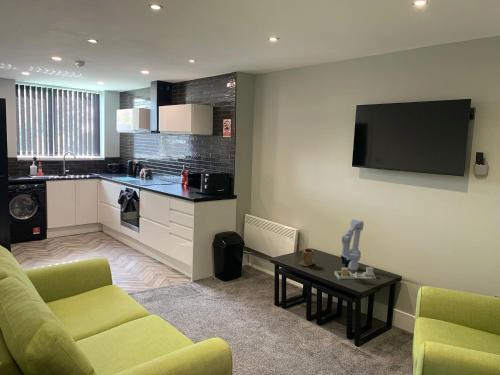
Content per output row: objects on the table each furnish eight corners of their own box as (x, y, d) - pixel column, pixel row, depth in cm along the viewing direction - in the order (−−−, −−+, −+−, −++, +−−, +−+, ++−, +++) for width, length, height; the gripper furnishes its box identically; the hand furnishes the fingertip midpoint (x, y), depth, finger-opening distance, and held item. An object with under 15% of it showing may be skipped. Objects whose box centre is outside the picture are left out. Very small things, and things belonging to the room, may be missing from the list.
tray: (334, 274, 324) (334, 271, 324) (349, 274, 325) (349, 271, 324) (338, 280, 311) (339, 276, 311) (354, 280, 312) (354, 276, 311)
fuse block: (351, 274, 323) (351, 270, 323) (372, 274, 324) (372, 270, 324) (355, 279, 313) (355, 275, 313) (376, 279, 314) (376, 275, 314)
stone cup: (306, 268, 336) (307, 252, 334) (297, 264, 346) (297, 248, 344) (318, 265, 346) (319, 249, 343) (309, 261, 355) (309, 245, 353)
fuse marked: (341, 275, 319) (341, 267, 318) (346, 275, 319) (347, 267, 318) (342, 277, 316) (342, 268, 315) (347, 277, 316) (348, 269, 315)
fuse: (365, 275, 320) (366, 267, 319) (371, 275, 321) (371, 267, 320) (366, 276, 317) (367, 268, 316) (372, 276, 318) (373, 268, 317)
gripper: (338, 247, 322) (337, 262, 323) (343, 252, 307) (342, 268, 309) (346, 247, 322) (346, 262, 324) (352, 252, 308) (351, 268, 310)
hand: (345, 265), depth 317 cm, fingers open, 7 cm apart
